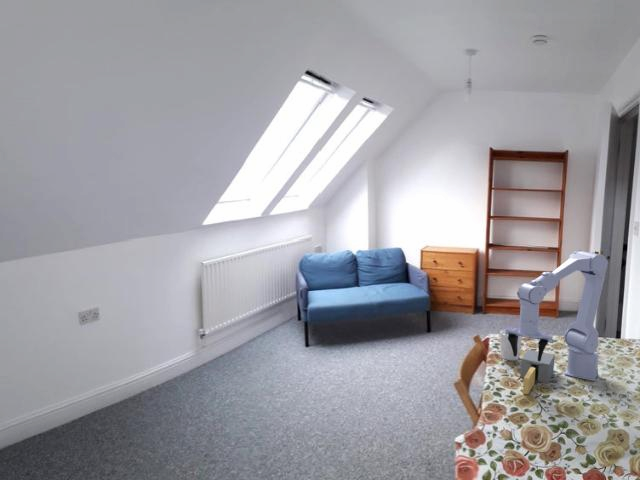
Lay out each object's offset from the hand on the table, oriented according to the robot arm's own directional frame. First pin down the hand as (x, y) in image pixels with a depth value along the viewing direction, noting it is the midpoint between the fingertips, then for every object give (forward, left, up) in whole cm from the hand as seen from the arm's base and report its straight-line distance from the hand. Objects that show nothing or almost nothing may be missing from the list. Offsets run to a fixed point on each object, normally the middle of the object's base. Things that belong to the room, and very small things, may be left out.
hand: (527, 357), depth 162 cm
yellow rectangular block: (-2, +4, -9) cm, 10 cm away
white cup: (+10, -20, -10) cm, 24 cm away
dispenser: (-2, -9, -9) cm, 13 cm away
